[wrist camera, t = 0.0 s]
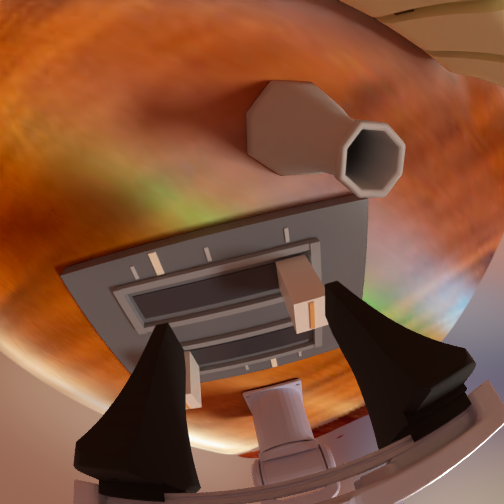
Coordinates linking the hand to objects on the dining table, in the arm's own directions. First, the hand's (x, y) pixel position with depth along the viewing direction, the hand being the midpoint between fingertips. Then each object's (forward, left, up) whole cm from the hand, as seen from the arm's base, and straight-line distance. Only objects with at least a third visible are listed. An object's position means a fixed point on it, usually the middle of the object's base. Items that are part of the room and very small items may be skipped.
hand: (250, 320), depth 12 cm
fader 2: (-5, -4, -9) cm, 11 cm away
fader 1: (-13, +8, -9) cm, 18 cm away
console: (-9, +2, -10) cm, 14 cm away
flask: (+6, -6, -10) cm, 13 cm away
